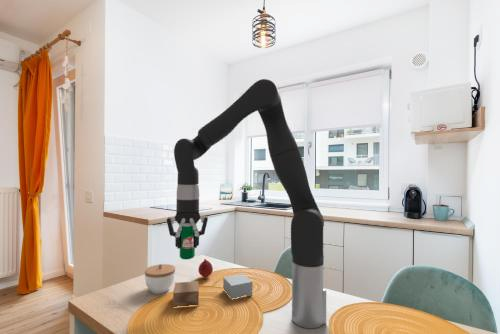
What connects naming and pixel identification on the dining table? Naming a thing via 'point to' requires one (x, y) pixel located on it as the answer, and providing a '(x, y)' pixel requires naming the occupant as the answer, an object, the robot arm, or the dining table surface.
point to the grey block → (237, 285)
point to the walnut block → (186, 294)
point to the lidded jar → (159, 277)
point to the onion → (205, 269)
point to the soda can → (187, 242)
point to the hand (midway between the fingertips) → (187, 247)
